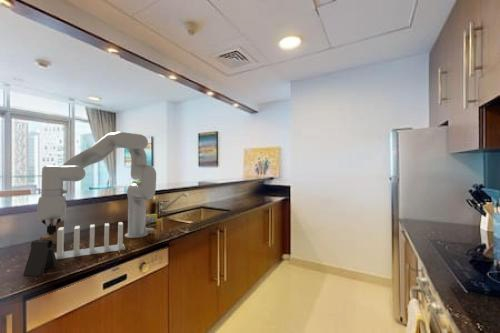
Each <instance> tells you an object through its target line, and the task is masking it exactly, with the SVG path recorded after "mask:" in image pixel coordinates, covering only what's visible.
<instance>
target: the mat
mask: <svg viewBox="0 0 500 333" xmlns="http://www.w3.org/2000/svg"><path fill="white" fill-rule="evenodd" d="M123 250H126V247H125V244H124V243H123V248H122V249H118V244H111V245H110V244H109V250H108V251H104V245H103V246H97V247H95V246H94V253H89V247H87V248H81V249H80V248H79V254H78V255H73V253H74V249H71V250H64V253H63V255H62V257H58V258H57V252H54V253H55V257H56V260H62V259H67V258H68V259H69V258H75V257H81V256H89V255H95V254H96V255H97V254H102V253H109V252H116V251H123Z"/></svg>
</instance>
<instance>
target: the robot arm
mask: <svg viewBox="0 0 500 333" xmlns="http://www.w3.org/2000/svg"><path fill="white" fill-rule="evenodd" d="M148 145H149V141H148V138H147V137H146V136H145V135H143V134H139V133H130V132H123V131H115V132H108V133H107V134H105V135H104V136H103V137H102V138H100V139H99V140H98V141H96V142H95V143H93V144H92V145H91V146H90V147H88V148H87V149H85V150H83V151H81V152H80V153H78V154H76V155H74V156H72V157H71V158H69V159H68V160H67V161H65V162H64V163H63V164H61V165H45V166H43V167H42V168H41V169H42V170H41V196H39V197H38V201H37V206H36V207H37V208H36V219H35V222H36V223H42V224H43V225H44V226H46V234H47V233H49V235H53V234H54V232H56V225H57V224H58V223H59V222H60V221H64V222H65V221H67V219H68V217H67V212H68V210H67V208H68V207H67V199H66V198H67V197H66V195H64V194H68V190H65V189H64V182H80V181H82V180H83V179H84V178H85V177H86V171H85V168H87V167H89V166H91V165H95V164H98V163H100V162H101V161H103V160H105V158H107V157H108V156H109V155H111V154H112V153H113V152H115V150H117V149H120V148H121V149H126V151H127V152H128V153H129V154H130V158H131V161H130V177H131V179H132V180H135V181H139V182H133V183H130V185H128V187H127V189H126V190H127V191H126V195H127V200H128V201H127V204H128V207H127V208H128V209H127V232H126V233H125V234H124V237H125V238H126V239H127V238H129V239H135V238H136V239H139V238H143V237H147V236H148V234H149V232H154V230H155V228H154V227H145V220H146V215H147V214H146V213H147V211H146V210H147V204H146V201H149V200H151V199H153V198H154V196H156V195H155V194H156V191H157V190H156V189H157V188H156V187H157V171H156V169H155V167H153V166H152V165H149V164H147V163H148V162H147V161H148V160H147V159H148V158H147V153H146V151H145V149H146V148H147V147H148ZM58 218H59V219H58ZM50 219H54V222H53V224H52V225H51V223H50Z"/></svg>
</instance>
